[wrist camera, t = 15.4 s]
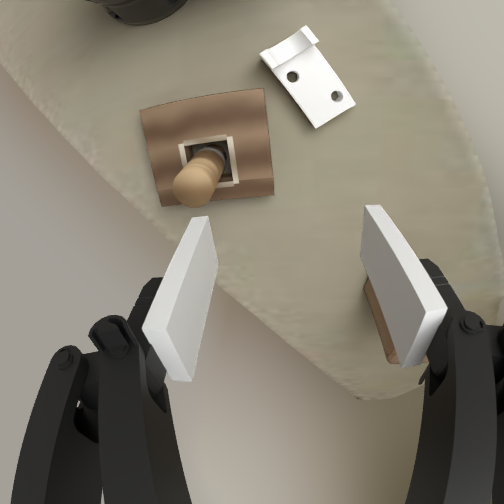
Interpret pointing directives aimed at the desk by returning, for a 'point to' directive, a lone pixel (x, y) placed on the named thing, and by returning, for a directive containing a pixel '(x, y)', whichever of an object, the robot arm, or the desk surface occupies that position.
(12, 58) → the desk surface
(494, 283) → the desk surface
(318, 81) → the bracket
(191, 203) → the oak peg
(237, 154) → the seat board
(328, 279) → the desk surface
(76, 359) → the robot arm
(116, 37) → the desk surface
